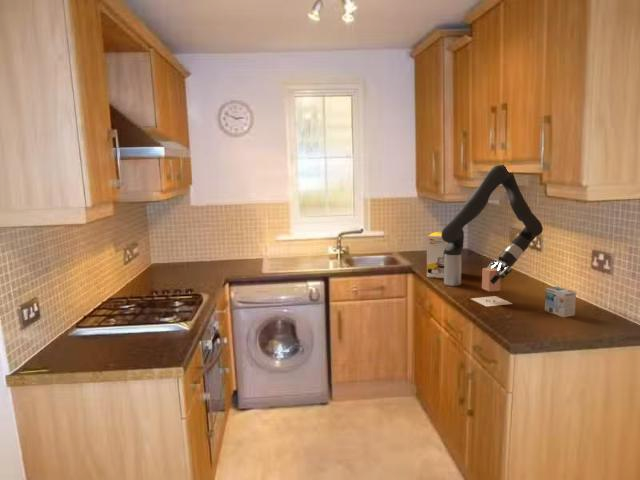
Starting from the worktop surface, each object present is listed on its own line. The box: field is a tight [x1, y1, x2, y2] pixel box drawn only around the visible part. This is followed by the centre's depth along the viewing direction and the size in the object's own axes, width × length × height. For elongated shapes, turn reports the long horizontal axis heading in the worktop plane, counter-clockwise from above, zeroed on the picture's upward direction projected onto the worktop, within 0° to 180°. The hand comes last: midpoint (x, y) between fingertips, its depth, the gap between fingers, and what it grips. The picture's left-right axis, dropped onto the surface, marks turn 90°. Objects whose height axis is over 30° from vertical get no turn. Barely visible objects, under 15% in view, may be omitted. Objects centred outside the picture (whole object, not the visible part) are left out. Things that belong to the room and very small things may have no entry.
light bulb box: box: [544, 285, 577, 318], centre depth 206 cm, size 11×7×11 cm, turn 21°
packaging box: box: [426, 231, 449, 279], centre depth 282 cm, size 16×16×25 cm
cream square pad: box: [470, 295, 513, 307], centre depth 226 cm, size 14×14×1 cm
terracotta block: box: [481, 267, 502, 293], centre depth 224 cm, size 6×6×10 cm
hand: (488, 280), depth 224 cm, fingers closed on terracotta block, 6 cm apart
